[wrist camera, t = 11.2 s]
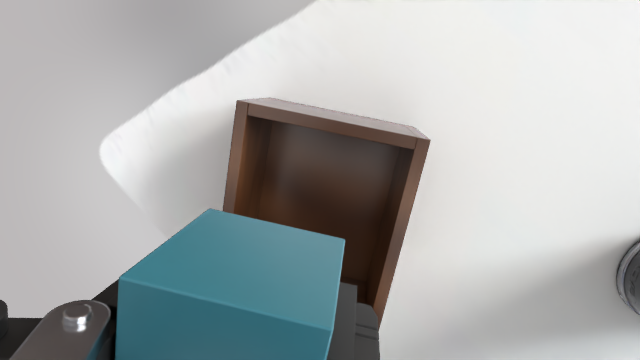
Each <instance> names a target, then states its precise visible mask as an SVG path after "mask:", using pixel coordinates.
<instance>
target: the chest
mask: <svg viewBox="0 0 640 360" xmlns="http://www.w3.org/2000/svg"><path fill="white" fill-rule="evenodd" d="M430 141H431V140H430V139H429V138H427V137H426V136H425V135H423V134H422V133H421V132H420V131H418V130H417V129H416V128H414V127H411V126H406V125H402V124H397V123H392V122H387V121H382V120H377V119H372V118H367V117H362V116H357V115H352V114H347V113H343V112H338V111H333V110H328V109H323V108H318V107H313V106H308V105H303V104H298V103H293V102H288V101H283V100H279V99H274V98H259V99H247V100H237V103H236V110H235V118H234V126H233V134H232V142H231V150H230V158H229V166H228V173H227V181H226V189H225V197H224V205H223V212H227V213H232V214H236V215H240V216H245V217H249V218H254V219H258V220H262V221H267V222H271V223H276V224H280V225H285V226H289V227H293V228H298V229H302V230H307V231H311V232H315V233H320V234H324V235H329V236H333V237H338V238H342V239H345V246H344V254H343V261H342V269H341V276H340V282H343V283H347V284H351V285H356V286H357V302H359V303H363V304H367V305H371V307H372V308H373V310H374V312H375V313H376V315H377V317H378V331H379V327H380V324H381V320H382V316H383V313H384V309H385V305H386V302H387V298H388V294H389V291H390V287H391V283H392V280H393V276H394V273H395V269H396V265H397V262H398V258H399V254H400V251H401V247H402V243H403V240H404V236H405V232H406V229H407V225H408V221H409V218H410V214H411V210H412V207H413V203H414V199H415V196H416V192H417V188H418V185H419V181H420V177H421V174H422V170H423V166H424V163H425V159H426V155H427V152H428V148H429V144H430Z"/></svg>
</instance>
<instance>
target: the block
mask: <svg viewBox="0 0 640 360" xmlns="http://www.w3.org/2000/svg"><path fill="white" fill-rule="evenodd" d="M344 246H345V239H342V238H338V237H333V236H329V235H324V234H320V233H315V232H311V231H307V230H302V229H298V228H293V227H289V226H285V225H280V224H276V223H271V222H267V221H262V220H258V219H254V218H249V217H245V216H240V215H236V214H232V213H227V212H223V211H218V210H214V209H208V210H207V211H205V212H204V213H203V214H201V215H200V216H199V217H197V218H196V219H195V220H194V221H192V222H191V223H190V224H188V225H187V226H186V227H184V228H183V229H182V230H180V231H179V232H178V233H176V234H175V235H174V236H172V237H171V238H170V239H169V240H167V241H166V242H165V243H163V244H162V245H161V246H159V247H158V248H157V249H155V250H154V251H153V252H151V253H150V254H149V255H147V256H146V257H145V258H144V259H142V260H141V261H140V262H138V263H137V264H136V265H134V266H133V267H132V268H130V269H129V270H128V271H126V272H125V273H124V274H122V275H121V276H120V277H119V280H118V301H117V322H116V342H115V360H327V355H328V351H329V347H330V342H331V338H332V334H333V329H334V321H335V314H336V306H337V299H338V291H339V284H340V276H341V269H342V261H343V254H344Z"/></svg>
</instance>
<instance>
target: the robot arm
mask: <svg viewBox="0 0 640 360" xmlns="http://www.w3.org/2000/svg"><path fill="white" fill-rule="evenodd" d="M118 280H119V279H118ZM118 280H117V281H115V282H114V283H113V284H111V285H110V286H109V287H107V288H106V289H105V290H104V291H103V292H101V293H100V294H98V295H97V296H96V297H94V298H93V299H92V300H80V301H73V302H69V303H66V304H63V305H61V306H58V307H56V308H54V309H53V310H51V311H50V312H49V313H47V315H46V316H45V317H44V318H8V312H7V311H8V309H7V305H6V303H5V302H4V301H2V300H0V360H115V342H116V322H117V301H118ZM617 286H618V290H619V293H620V295H621V297H622V299H623V300H624V302H625V303H626V304H627V305H628V306H629V307H630V308H631V309H632V310H634V311H635V312H636V313H637V314H639V315H640V241H639V242H637V243H636V244H635V245H634V246H633V247H632V248H631V249H630V250H629V251H628V252H627V254H626V255H625V256H624V258H623V260H622V262H621V264H620V266H619V270H618V274H617ZM378 340H379V333H378V317H377V315H376V313H375V312H374V310H373V308H372V307H371V305H367V304H363V303H359V302H357V286H356V285H351V284H347V283H343V282H340V284H339V291H338V299H337V306H336V314H335V321H334V329H333V334H332V338H331V342H330V347H329V351H328V355H327V360H380V353H379V341H378Z"/></svg>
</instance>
